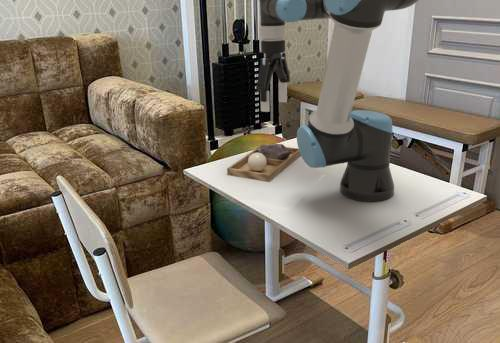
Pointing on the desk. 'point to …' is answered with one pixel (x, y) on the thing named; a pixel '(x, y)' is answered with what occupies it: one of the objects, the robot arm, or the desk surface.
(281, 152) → the rock
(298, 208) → the desk surface
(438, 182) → the desk surface
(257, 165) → the ceramic ball
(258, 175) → the wooden tray
